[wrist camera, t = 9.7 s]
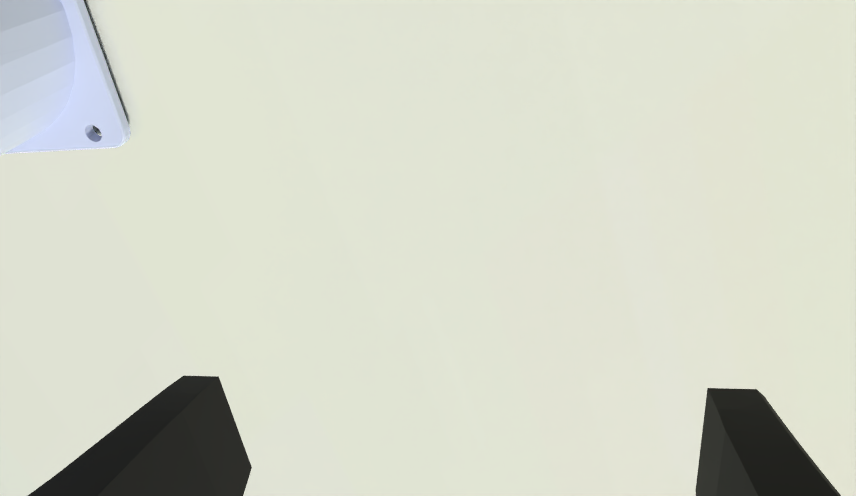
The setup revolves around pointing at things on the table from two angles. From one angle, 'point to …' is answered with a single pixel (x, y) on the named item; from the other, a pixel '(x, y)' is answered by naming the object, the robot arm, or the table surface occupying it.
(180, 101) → the table surface
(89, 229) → the table surface
